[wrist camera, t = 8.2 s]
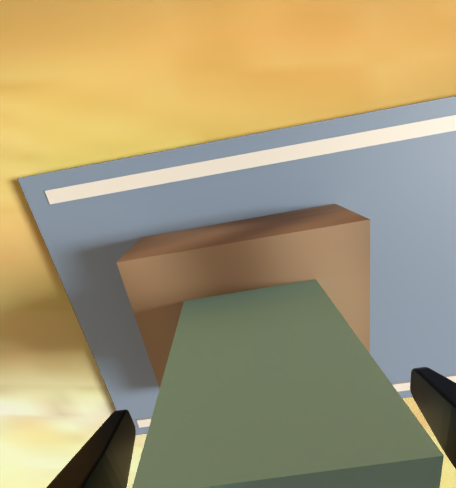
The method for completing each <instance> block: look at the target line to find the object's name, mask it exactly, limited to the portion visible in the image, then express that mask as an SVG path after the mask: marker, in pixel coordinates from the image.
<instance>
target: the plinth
mask: <svg viewBox="0 0 456 488" xmlns="http://www.w3.org/2000/svg"><path fill="white" fill-rule="evenodd" d="M116 263H117V266H118V269H119V272H120V275H121V277H122V280H123V283H124V286H125V289H126V292H127V295H128V298H129V301H130V304H131V307H132V310H133V313H134V316H135V318H136V321H137V324H138V327H139V330H140V333H141V336H142V339H143V342H144V345H145V348H146V351H147V354H148V356H149V359H150V362H151V365H152V368H153V371H154V374H155V377H156V380H157V383H158V386H159V389H160V386H161V382H162V379H163V375H164V372H165V368H166V364H167V361H168V357H169V353H170V350H171V346H172V343H173V339H174V335H175V332H176V328H177V324H178V321H179V317H180V314H181V310H182V306H183V303H184V301H188V300H194V299H200V298H206V297H212V296H218V295H224V294H230V293H236V292H242V291H248V290H254V289H260V288H266V287H272V286H278V285H284V284H290V283H296V282H302V281H308V280H314V279H316V280H317V281H318V283H319V284H320V286H321V287H322V288H323V290H324V291H325V293H326V294H327V295H328V297H329V298H330V299H331V301H332V302H333V304H334V305H335V306H336V308H337V309H338V310H339V312H340V313H341V315H342V316H343V317H344V319H345V320H346V322H347V323H348V324H349V326H350V327H351V328H352V330H353V331H354V333H355V334H356V335H357V337H358V338H359V340H360V341H361V342H362V344H363V345H364V346H365V348H366V349H367V351H368V352H369V353H370V219H368V218H366V217H364V216H361V215H359V214H357V213H355V212H353V211H350V210H348V209H346V208H344V207H342V206H339V205H337V204H330V205H324V206H319V207H313V208H307V209H301V210H296V211H290V212H284V213H278V214H272V215H267V216H261V217H255V218H249V219H244V220H238V221H232V222H226V223H221V224H215V225H209V226H203V227H197V228H192V229H186V230H180V231H174V232H169V233H163V234H157V235H151V236H146V237H141V238H140V239H139V240H138V241H137V242H136V243H135V244H134V245H133V246H132V247H131V248H130V249H129V250H128V251H127V252H126V253H125V254H124V255H123V256H122V257H121V258H120V259H119V260H118V261H117V262H116Z"/></svg>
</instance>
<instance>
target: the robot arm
mask: <svg viewBox="0 0 456 488" xmlns="http://www.w3.org/2000/svg"><path fill="white" fill-rule="evenodd" d="M410 391H411V394H412V396H413V398H414V400H415V402H416V403H417V405H418V407H419V409H420V410H421V412H422V414H423V416H424V417H425V419H426V421H427V423H428V424H429V426H430V428H431V430H432V431H433V433H434V435H435V437H436V438H437V440H438V442H439V444H440V445H441V447H442V449H443V450H444V452H445V454H446V455H447V457H448V458H449V460H450V461H451V463H452V464H453V466H454V467H455V468H456V383H455V382H453V381H452V380H450V379H448V378H446V377H444V376H443V375H441V374H439V373H437V372H436V371H434V370H432V369H430V368H428V367H419V368H413V369H412V370H411V380H410ZM135 435H136V428H135V425H134V422H133V420H132V417H131V415H130V413H129V411H128V410H126V409H125V410H118V411H115V412H113V413H112V414H111V415H110V417H109V418H108V419H107V420H106V421H105V422H104V423H103V424H102V426H101V427H100V428H99V429H98V430H97V431H96V432H95V433H94V435H93V436H92V437H91V438H90V439H89V440H88V441H87V442H86V444H85V445H84V446H83V447H82V448H81V449H80V450H79V452H78V453H77V454H76V455H75V456H74V457H73V458H72V459H71V461H70V462H69V463H68V464H67V465H66V466H65V467H64V468H63V470H62V471H61V472H60V473H59V474H58V475H57V476H56V477H55V479H54V480H53V481H52V482H51V483H50V484H49V485H48V486H47V488H126V487H127V482H128V476H129V470H130V464H131V459H132V453H133V447H134V441H135Z"/></svg>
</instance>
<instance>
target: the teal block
mask: <svg viewBox="0 0 456 488" xmlns="http://www.w3.org/2000/svg"><path fill="white" fill-rule="evenodd" d="M442 464H443V454H442V453H441V451H440V450H439V449H438V447H437V446H436V445H435V443H434V442H433V440H432V439H431V438H430V436H429V435H428V434H427V432H426V431H425V429H424V428H423V427H422V425H421V424H420V422H419V421H418V420H417V418H416V417H415V416H414V414H413V413H412V411H411V410H410V409H409V407H408V406H407V404H406V403H405V402H404V400H403V399H402V398H401V396H400V395H399V393H398V392H397V391H396V389H395V388H394V387H393V385H392V384H391V382H390V381H389V380H388V378H387V377H386V375H385V374H384V373H383V371H382V370H381V369H380V367H379V366H378V364H377V363H376V362H375V360H374V359H373V357H372V356H371V355H370V353H369V352H368V351H367V349H366V348H365V346H364V345H363V344H362V342H361V341H360V340H359V338H358V337H357V335H356V334H355V333H354V331H353V330H352V328H351V327H350V326H349V324H348V323H347V322H346V320H345V319H344V317H343V316H342V315H341V313H340V312H339V310H338V309H337V308H336V306H335V305H334V304H333V302H332V301H331V299H330V298H329V297H328V295H327V294H326V293H325V291H324V290H323V288H322V287H321V286H320V284H319V283H318V281H317V280H316V279H314V280H308V281H302V282H296V283H290V284H284V285H278V286H272V287H266V288H260V289H254V290H248V291H242V292H236V293H230V294H224V295H218V296H212V297H206V298H200V299H194V300H188V301H184V303H183V306H182V310H181V314H180V317H179V321H178V324H177V328H176V332H175V335H174V339H173V343H172V346H171V350H170V353H169V357H168V361H167V364H166V368H165V372H164V375H163V379H162V382H161V386H160V390H159V393H158V397H157V401H156V404H155V408H154V411H153V415H152V419H151V422H150V426H149V430H148V433H147V437H146V440H145V444H144V448H143V451H142V455H141V459H140V462H139V466H138V469H137V473H136V477H135V480H134V484H133V488H439V487H440V479H441V471H442Z"/></svg>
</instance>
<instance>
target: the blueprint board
mask: <svg viewBox="0 0 456 488" xmlns="http://www.w3.org/2000/svg"><path fill="white" fill-rule="evenodd" d="M17 179H18V181H19V183H20V186H21V188H22V190H23V193H24V195H25V197H26V200H27V202H28V204H29V207H30V209H31V211H32V214H33V216H34V218H35V221H36V223H37V225H38V228H39V230H40V232H41V235H42V237H43V239H44V242H45V244H46V246H47V249H48V251H49V253H50V256H51V258H52V261H53V263H54V265H55V268H56V270H57V272H58V275H59V277H60V279H61V282H62V284H63V286H64V289H65V291H66V293H67V296H68V298H69V300H70V303H71V305H72V307H73V310H74V312H75V314H76V317H77V319H78V321H79V324H80V326H81V328H82V331H83V333H84V335H85V338H86V340H87V342H88V345H89V347H90V349H91V352H92V354H93V356H94V359H95V361H96V364H97V366H98V368H99V371H100V373H101V375H102V378H103V380H104V382H105V385H106V387H107V389H108V392H109V394H110V396H111V399H112V401H113V403H114V406H115V408H116V410H117V411H118V410H125V409H126V410H128V411H129V413H130V415H131V417H132V420H133V422H134V425H135V428H136V435H140V434H147V433H148V430H149V426H150V422H151V419H152V415H153V411H154V408H155V404H156V401H157V397H158V393H159V390H160V389H159V386H158V383H157V380H156V377H155V374H154V371H153V368H152V365H151V362H150V359H149V356H148V354H147V351H146V348H145V345H144V342H143V339H142V336H141V333H140V330H139V327H138V324H137V321H136V318H135V316H134V313H133V310H132V307H131V304H130V301H129V298H128V295H127V292H126V289H125V286H124V283H123V280H122V277H121V275H120V272H119V269H118V266H117V263H116V262H117V261H118V260H119V259H120V258H121V257H122V256H123V255H124V254H125V253H126V252H127V251H128V250H129V249H130V248H131V247H132V246H133V245H134V244H135V243H136V242H137V241H138V240H139V239H140V238H141V237H146V236H151V235H157V234H163V233H169V232H174V231H180V230H186V229H192V228H197V227H203V226H209V225H215V224H221V223H226V222H232V221H238V220H244V219H249V218H255V217H261V216H267V215H272V214H278V213H284V212H290V211H296V210H301V209H307V208H313V207H319V206H324V205H330V204H337V205H339V206H342V207H344V208H346V209H348V210H350V211H353V212H355V213H357V214H359V215H361V216H364V217H366V218H368V219H370V355H371V356H372V357H373V359H374V360H375V362H376V363H377V364H378V366H379V367H380V369H381V370H382V371H383V373H384V374H385V375H386V377H387V378H388V380H389V381H390V382H391V384H392V385H393V387H394V388H395V389H396V391H397V392H398V393H399V395H400V396H401V398H407V397H413V396H412V394H411V391H410V380H411V370H412V369H413V368H419V367H428V368H430V369H432V370H434V371H436V372H437V373H439V374H441V375H443V376H444V377H446V378H448V379H450V380H452V381H453V382H455V383H456V96H454V97H448V98H443V99H438V100H432V101H427V102H422V103H416V104H411V105H406V106H400V107H395V108H390V109H384V110H379V111H374V112H368V113H363V114H358V115H353V116H347V117H342V118H337V119H331V120H326V121H321V122H315V123H310V124H305V125H299V126H294V127H289V128H283V129H278V130H273V131H267V132H262V133H257V134H251V135H246V136H241V137H235V138H230V139H225V140H220V141H214V142H209V143H204V144H198V145H193V146H188V147H182V148H177V149H172V150H166V151H161V152H156V153H150V154H145V155H140V156H134V157H129V158H124V159H118V160H113V161H108V162H102V163H97V164H92V165H87V166H81V167H76V168H71V169H65V170H60V171H55V172H49V173H44V174H39V175H33V176H28V177H23V178H17Z"/></svg>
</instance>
